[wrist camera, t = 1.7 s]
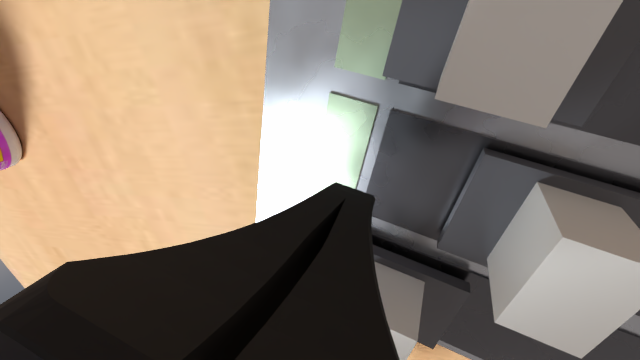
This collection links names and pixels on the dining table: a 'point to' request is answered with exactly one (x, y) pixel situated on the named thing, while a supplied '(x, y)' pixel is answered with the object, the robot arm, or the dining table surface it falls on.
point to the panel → (419, 152)
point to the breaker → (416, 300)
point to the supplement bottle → (8, 144)
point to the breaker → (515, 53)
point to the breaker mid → (550, 249)
